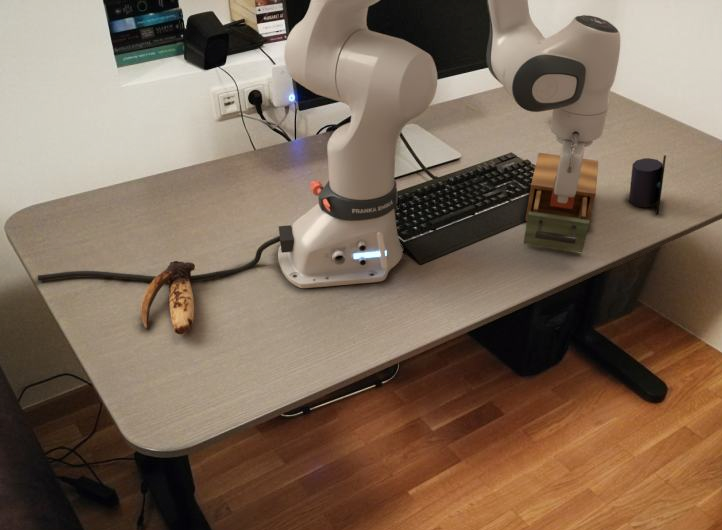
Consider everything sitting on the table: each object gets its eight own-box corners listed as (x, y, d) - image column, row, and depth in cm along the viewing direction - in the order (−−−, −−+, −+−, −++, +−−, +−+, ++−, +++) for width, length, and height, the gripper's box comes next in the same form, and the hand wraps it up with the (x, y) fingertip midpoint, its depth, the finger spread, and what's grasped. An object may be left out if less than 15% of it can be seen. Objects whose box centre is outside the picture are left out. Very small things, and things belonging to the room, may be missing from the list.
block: (572, 209, 123) (576, 189, 121) (550, 205, 124) (553, 186, 121) (573, 198, 126) (577, 178, 124) (551, 195, 127) (555, 175, 124)
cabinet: (587, 230, 133) (595, 193, 128) (525, 221, 135) (531, 184, 129) (590, 196, 143) (598, 160, 137) (532, 187, 145) (538, 152, 139)
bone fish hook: (143, 282, 118) (142, 349, 105) (135, 259, 115) (134, 325, 102) (198, 273, 120) (204, 337, 107) (192, 250, 116) (198, 314, 103)
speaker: (669, 203, 141) (678, 156, 134) (657, 215, 138) (666, 168, 131) (635, 193, 145) (642, 147, 138) (622, 205, 142) (629, 159, 135)
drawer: (580, 268, 122) (587, 238, 118) (520, 258, 124) (524, 229, 119) (585, 217, 135) (592, 189, 130) (530, 209, 136) (535, 181, 132)
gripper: (594, 151, 107) (577, 226, 116) (599, 99, 121) (583, 170, 131) (553, 145, 108) (540, 220, 117) (563, 95, 122) (550, 165, 132)
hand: (563, 193), depth 124 cm, fingers closed on block, 4 cm apart
